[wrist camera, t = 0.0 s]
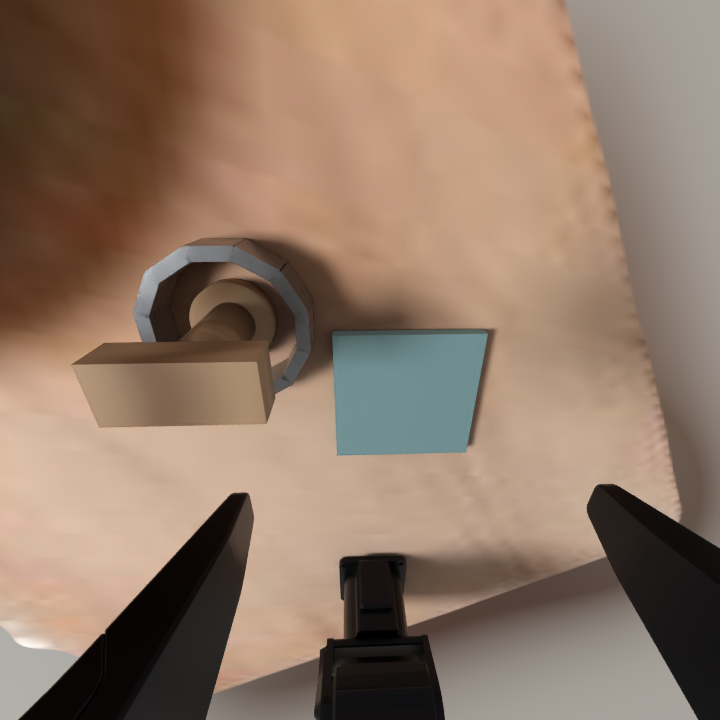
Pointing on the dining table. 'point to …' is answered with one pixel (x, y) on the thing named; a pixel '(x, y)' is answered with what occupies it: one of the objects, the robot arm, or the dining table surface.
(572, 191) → the dining table surface
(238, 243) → the ring socket
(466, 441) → the rubber mat
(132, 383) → the t key
